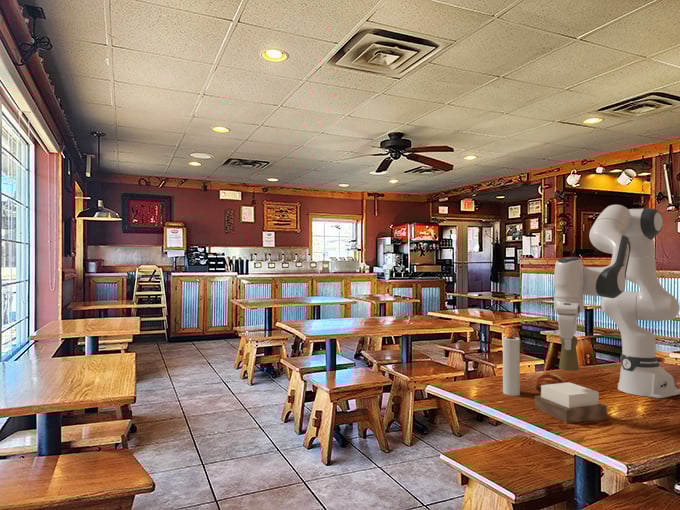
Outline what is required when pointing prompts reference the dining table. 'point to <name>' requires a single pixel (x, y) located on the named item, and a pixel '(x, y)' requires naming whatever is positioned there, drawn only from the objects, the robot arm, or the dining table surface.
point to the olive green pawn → (569, 356)
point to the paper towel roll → (511, 366)
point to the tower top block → (570, 395)
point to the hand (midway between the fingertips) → (568, 348)
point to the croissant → (547, 380)
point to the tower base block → (571, 411)
